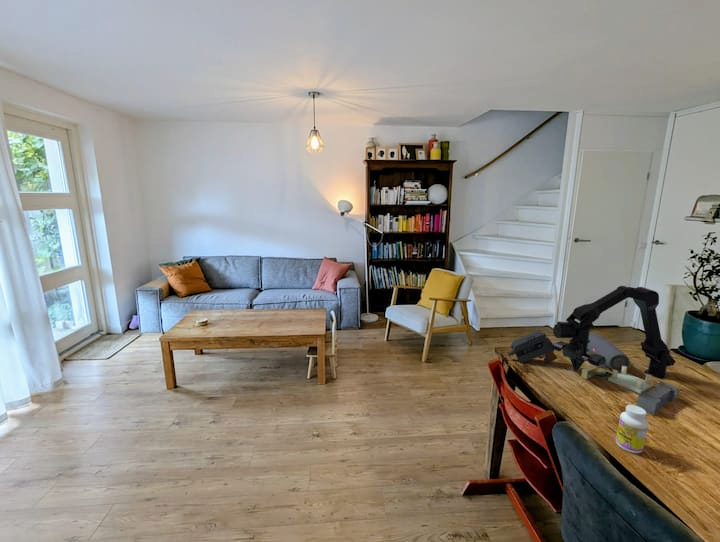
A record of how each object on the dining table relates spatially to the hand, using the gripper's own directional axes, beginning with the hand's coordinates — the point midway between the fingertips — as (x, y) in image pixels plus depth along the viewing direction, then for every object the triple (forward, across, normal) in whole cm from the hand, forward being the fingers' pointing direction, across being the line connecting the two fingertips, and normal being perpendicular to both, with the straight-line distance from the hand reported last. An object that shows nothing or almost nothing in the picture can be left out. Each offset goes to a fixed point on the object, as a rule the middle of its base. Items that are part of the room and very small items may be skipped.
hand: (575, 371), depth 143 cm
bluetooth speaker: (+2, 0, +22) cm, 22 cm away
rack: (+2, +15, +12) cm, 20 cm away
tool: (+2, -17, -6) cm, 18 cm away
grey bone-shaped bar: (+2, +26, +4) cm, 27 cm away
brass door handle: (+1, +4, +6) cm, 7 cm away
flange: (+2, +4, +9) cm, 10 cm away
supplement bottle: (+2, +32, -30) cm, 44 cm away
